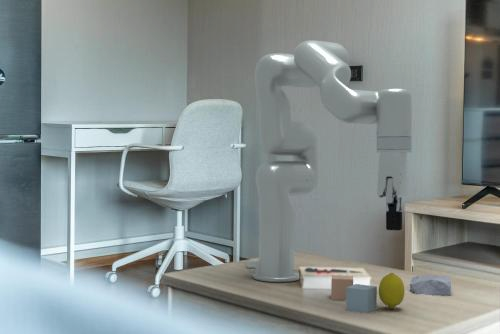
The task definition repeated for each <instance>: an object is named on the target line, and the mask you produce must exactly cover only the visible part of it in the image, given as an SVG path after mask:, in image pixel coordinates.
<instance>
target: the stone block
mask: <svg viewBox="0 0 500 334" xmlns="http://www.w3.org/2000/svg"><path fill="white" fill-rule="evenodd" d="M451 282H452V280H451V278H450V276H449V275H436V274H423V275H417V276H412V278H411V280H410V282H409V287H410V291H411V293H413V292H414V294H415V293H416V294H415V295H420V294H425V295H424V296H445V295H447V296H451V294H452V283H451Z"/></svg>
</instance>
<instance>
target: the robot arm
mask: <svg viewBox="0 0 500 334" xmlns="http://www.w3.org/2000/svg"><path fill="white" fill-rule="evenodd" d="M349 63H350V55H349V53H348V50H347V49H346V48H345V46H343V45H342V44H340V43H337V42H331V41H323V40H316V39H315V40H312V39H311V40H305V41H302V42H301V43H299V44H298V45H296V47H295V48H294V50H293V54H292V53H291V54H290V53H283V52H282V53H281V52H280V53H278V52H277V53H275V52H274V53H269V54H268V53H267V54H266V55H264V56H262V57H261V58H260V59H259V61H258V62H257V64H256V66H255V70H254V87H255V92H256V96H257V97H256V98H257V101H258V109H259V110H258V113H259V114H258V115H259V140H260V148H261V150H262V152H263V153H264V154H266V155H268V156H273V157H274V156H276V157H278V156H279V157H292V160H271V161H266V162H264V163H262V164H260V166H259V167H258V168H257V170H256V173H255V184H256V189H257V194H258V195H257V196H258V206H259V207H258V210H259V211H258V213H259V217H258V223H259V224H258V225H259V226H258V228H259V229H258V230H259V232H258V234H259V235H258V236H259V237H258V238H259V239H258V243H259V244H258V260H256V261H248V260H247V261H246V262H245V267H244V268H246V269H247V270H254V271H255V272H254V273H253V274H252V278H253V279H254V280H256V281H261V282H270V283H287V282H295V281H298V280H299V274H300V273H299V272H296V271H295V238H296V237H295V234H296V233H295V231H296V230H295V229H296V228H295V227H296V225H295V221H296V218H295V217H296V215H295V209H294V207H293V204H292V203H291V201H290V200H289V197H297V196H298V197H299V196H308V195H312V193H314V192H315V191H316V189H317V187H318V183H319V161H318V159H319V158H318V157H319V155H318V139H317V134H316V132H315V129H314V127H313V126H312V125H310V124H309V123H308V122H305V121H300V120H299V121H298V120H297V121H296V120H295V121H293V120H292V114H291V113H292V111H291V110H292V109H291V103H290V100H289V97H288V96H287V94H286V93H285V91H284V89H282V87H291V88H304V89H305V88H308V89H309V88H314V87H318V88H319V96H320V100H321V103H322V105H323V107H324V108H325V109H326V110H327V111H328V112H329V113H331V115H332V116H334V118H337V119H338V120H339V121H341V122H343V123H346V124H357V125H358V124H360V125H361V124H363V125H376V153H379V156H378V170H377V171H378V172H377V190H376V191H377V192H376V194H377V195H376V196H377V197H378V198H381V199H382V198H385V210H386V211H385V229H386V230H387V231H402V229H403V198H404V197H405V196H406V195H407V193H408V153H412V152H413V149H412V147H413V146H412V144H413V143H412V142H413V141H412V139H413V138H412V136H413V135H412V134H413V133H412V129H413V128H412V126H413V125H412V124H413V123H412V115H413V113H412V111H413V110H412V109H413V108H412V107H413V104H412V101H413V99H412V97H413V96H412V93H411V92H410V90H408V89H405V88H386V89H381V90H379V91H375V90H374V91H373V90H364V89H363V90H361V89H351V88H350V87H348V86H349V83H350V81H351V78H352V71H351V67H350V66H349Z"/></svg>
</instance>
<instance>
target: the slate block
mask: <svg viewBox="0 0 500 334" xmlns="http://www.w3.org/2000/svg"><path fill="white" fill-rule="evenodd" d="M377 289H378V287H377V286H375V285H369V284H368V285H367V284H358V283H355V284H354V283H353V285H352V286H349V287H346V301H345V310H346V311H351V312H359V313H364V314H365V313H366V314H368V313H370V312H373V311H375V310H377V293H378V292H377V291H378V290H377Z"/></svg>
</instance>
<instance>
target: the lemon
mask: <svg viewBox="0 0 500 334" xmlns="http://www.w3.org/2000/svg"><path fill="white" fill-rule="evenodd" d="M378 296H379V299H380V301H381V302H382V304H384V305H385V306H387V307H388V308H389V310H393V309H394V308H395V307H397V306H399V305H400V304H401V303H402V302H403V300H404V297H405V285H404V282H403V280H402V279H401V277H400V276H398V275H396V274H395V273H394V272H390V273H389V274H386V275H385V276H383V277H382V278H381V280H380V282H379V286H378Z"/></svg>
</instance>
